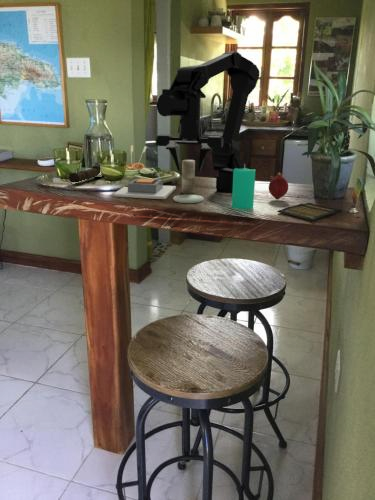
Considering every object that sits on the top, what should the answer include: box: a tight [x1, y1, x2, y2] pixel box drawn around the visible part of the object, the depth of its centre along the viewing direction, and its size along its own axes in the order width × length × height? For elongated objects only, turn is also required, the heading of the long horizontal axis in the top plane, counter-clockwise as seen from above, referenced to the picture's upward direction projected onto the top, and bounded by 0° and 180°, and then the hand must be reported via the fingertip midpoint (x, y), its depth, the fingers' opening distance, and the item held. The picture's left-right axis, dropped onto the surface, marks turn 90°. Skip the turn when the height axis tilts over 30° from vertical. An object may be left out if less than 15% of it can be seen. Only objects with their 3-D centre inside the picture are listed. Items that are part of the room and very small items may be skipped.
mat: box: [173, 194, 205, 204], centre depth 133 cm, size 9×9×1 cm
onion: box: [268, 172, 289, 200], centre depth 134 cm, size 6×6×8 cm
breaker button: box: [136, 178, 156, 184], centre depth 141 cm, size 5×5×1 cm
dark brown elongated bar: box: [68, 164, 100, 182], centre depth 157 cm, size 19×4×5 cm, turn 154°
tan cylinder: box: [181, 159, 196, 195], centre depth 141 cm, size 4×4×10 cm
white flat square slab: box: [112, 178, 177, 200], centre depth 141 cm, size 16×16×3 cm
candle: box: [231, 164, 257, 210], centre depth 124 cm, size 6×6×12 cm
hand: (189, 171), depth 130 cm, fingers open, 6 cm apart
